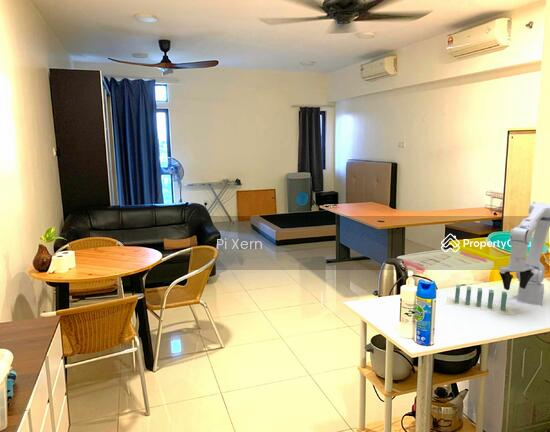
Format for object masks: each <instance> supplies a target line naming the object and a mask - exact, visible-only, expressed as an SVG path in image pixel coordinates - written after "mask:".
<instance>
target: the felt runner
mask: <svg viewBox="0 0 550 432" xmlns="http://www.w3.org/2000/svg"><path fill="white" fill-rule="evenodd" d="M465 304H466V298H460V297H459V304H458V303H455V297H453V296H447V297H446V303H445V305H451V306H458V307H462V308H469V309H470V308H471V309H475V310H476V309H477V310H482V311H488V312H495V313H501V314H505V315H506V314H507V315H513V316H515V315H516V314H515V310H514V306H511V305H506V309H505V311H502V310H501V307H500V306H501V304H497V303H493V305H492V309H489V308H488V302H485V301H481V307H477V300H471V299H470V305H465Z"/></svg>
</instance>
